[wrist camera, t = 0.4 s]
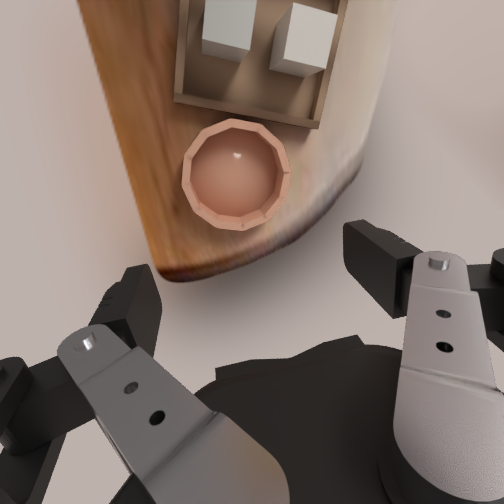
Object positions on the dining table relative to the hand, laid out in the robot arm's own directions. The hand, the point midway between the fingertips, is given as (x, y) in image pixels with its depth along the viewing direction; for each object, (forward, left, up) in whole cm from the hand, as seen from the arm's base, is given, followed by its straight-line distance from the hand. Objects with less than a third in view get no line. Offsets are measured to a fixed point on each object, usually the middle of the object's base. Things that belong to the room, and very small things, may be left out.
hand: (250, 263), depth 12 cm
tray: (-13, +2, -25) cm, 29 cm away
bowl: (0, +2, -25) cm, 25 cm away
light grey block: (-13, -1, -25) cm, 28 cm away
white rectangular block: (-13, +6, -25) cm, 29 cm away
